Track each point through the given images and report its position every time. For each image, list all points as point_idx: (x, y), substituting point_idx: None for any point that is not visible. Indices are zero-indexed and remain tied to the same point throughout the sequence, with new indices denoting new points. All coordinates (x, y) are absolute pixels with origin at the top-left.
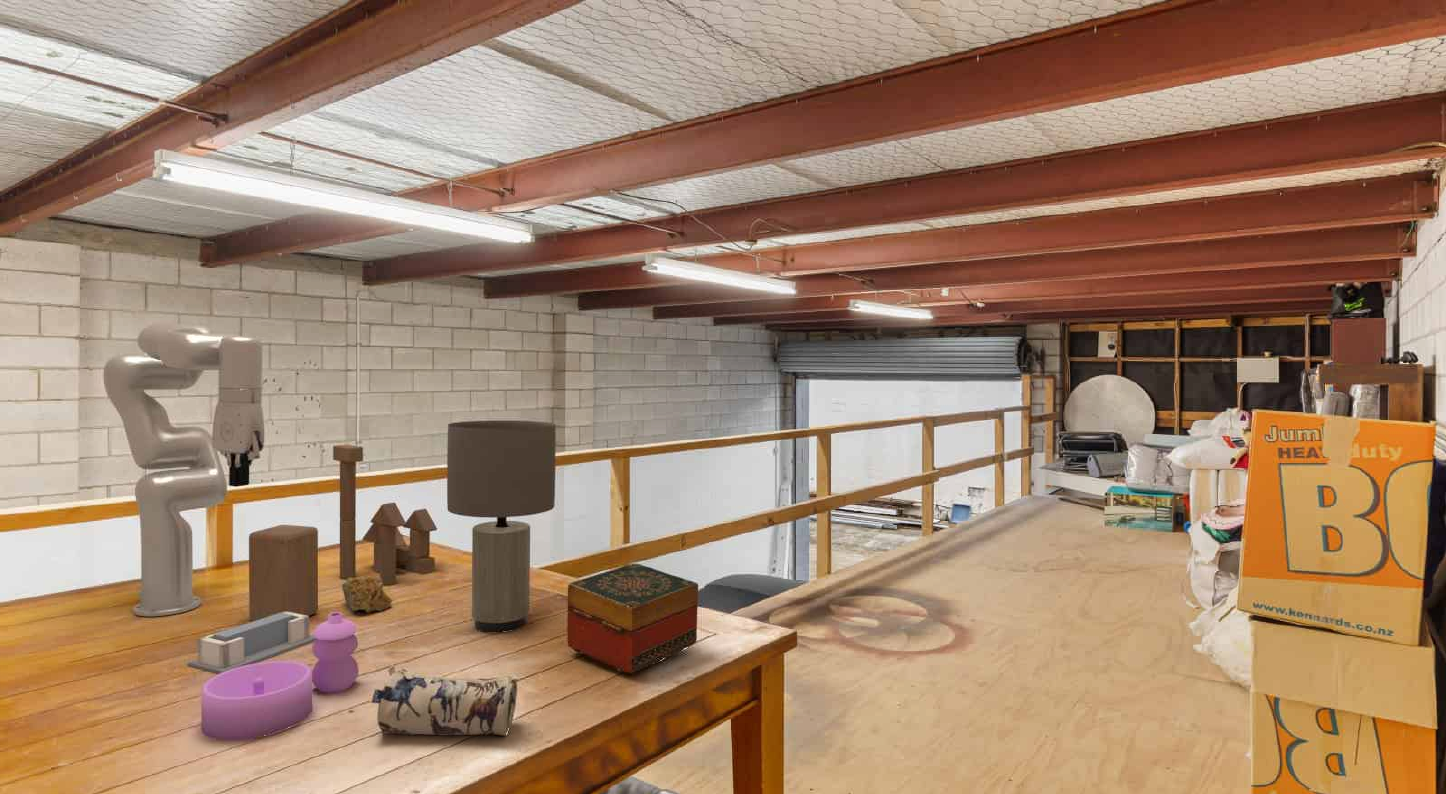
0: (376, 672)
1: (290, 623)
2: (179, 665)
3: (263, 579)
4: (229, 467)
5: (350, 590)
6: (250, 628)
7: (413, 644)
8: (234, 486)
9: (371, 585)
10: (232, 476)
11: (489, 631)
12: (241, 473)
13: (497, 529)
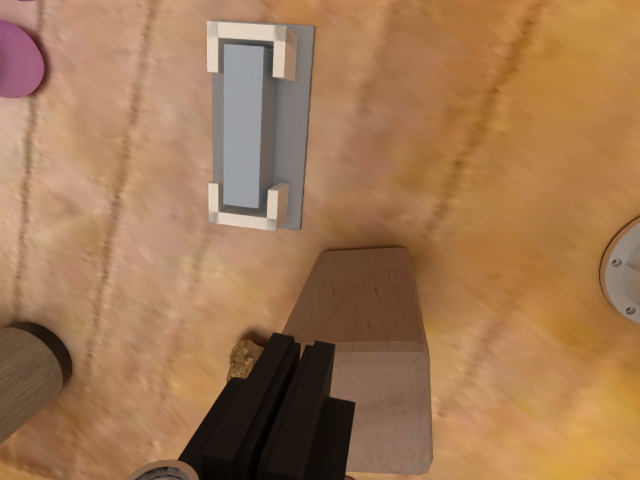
0: (22, 134)
1: (214, 183)
2: (329, 20)
3: (366, 283)
4: (295, 468)
5: (254, 360)
6: (227, 107)
7: (72, 249)
8: (283, 336)
9: None
10: (289, 394)
11: (20, 323)
12: (198, 432)
13: None
